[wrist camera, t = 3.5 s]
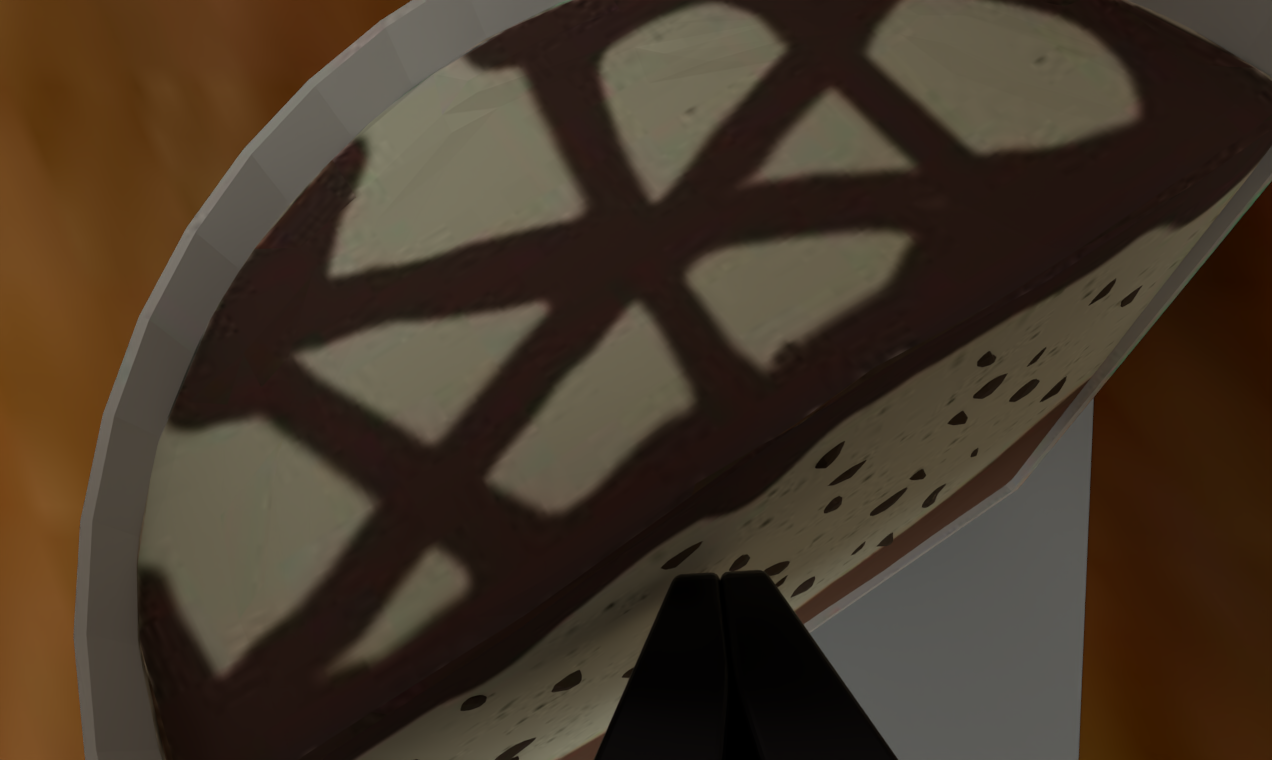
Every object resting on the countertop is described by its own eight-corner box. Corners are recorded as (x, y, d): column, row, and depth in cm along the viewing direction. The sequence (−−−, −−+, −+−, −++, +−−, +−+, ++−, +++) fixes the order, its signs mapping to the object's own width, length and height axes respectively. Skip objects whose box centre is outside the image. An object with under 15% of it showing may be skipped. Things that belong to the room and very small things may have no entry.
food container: (862, 196, 20) (937, -346, 11) (1088, 440, 17) (1437, 3, 8) (303, 549, 18) (-165, 264, 9) (463, 872, 16) (39, 923, 7)
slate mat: (1053, 1255, 16) (1056, 1263, 16) (193, 1113, 17) (188, 1119, 17) (1092, 328, 19) (1097, 326, 18) (346, 251, 20) (343, 248, 19)
